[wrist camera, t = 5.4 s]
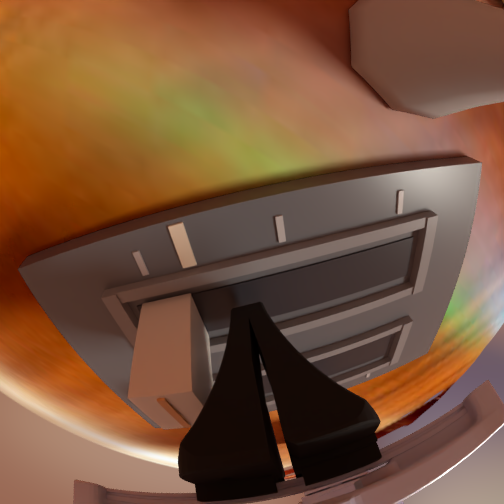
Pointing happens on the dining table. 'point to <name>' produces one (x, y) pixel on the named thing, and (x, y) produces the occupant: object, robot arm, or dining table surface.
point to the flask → (429, 53)
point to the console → (277, 269)
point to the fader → (171, 363)
